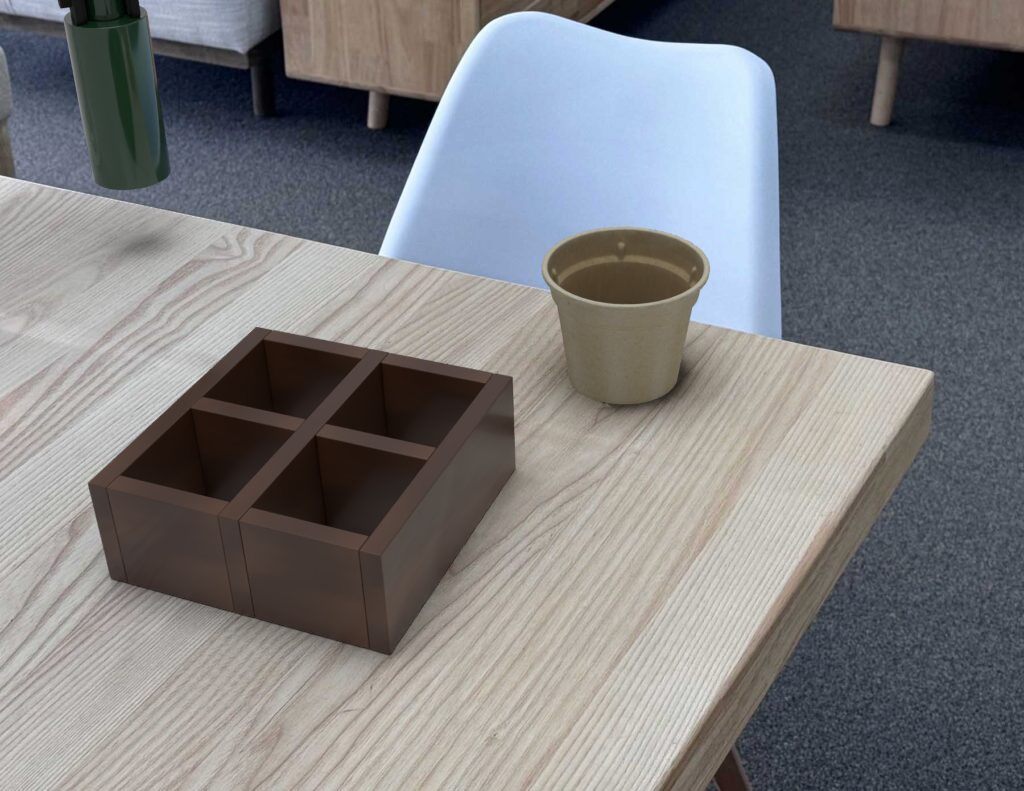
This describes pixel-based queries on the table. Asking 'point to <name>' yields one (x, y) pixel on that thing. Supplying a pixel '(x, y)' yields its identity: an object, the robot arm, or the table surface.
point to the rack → (310, 485)
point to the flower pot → (624, 308)
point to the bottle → (118, 96)
